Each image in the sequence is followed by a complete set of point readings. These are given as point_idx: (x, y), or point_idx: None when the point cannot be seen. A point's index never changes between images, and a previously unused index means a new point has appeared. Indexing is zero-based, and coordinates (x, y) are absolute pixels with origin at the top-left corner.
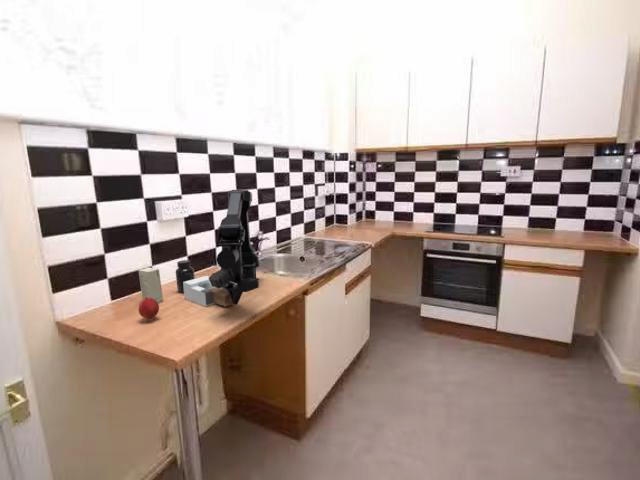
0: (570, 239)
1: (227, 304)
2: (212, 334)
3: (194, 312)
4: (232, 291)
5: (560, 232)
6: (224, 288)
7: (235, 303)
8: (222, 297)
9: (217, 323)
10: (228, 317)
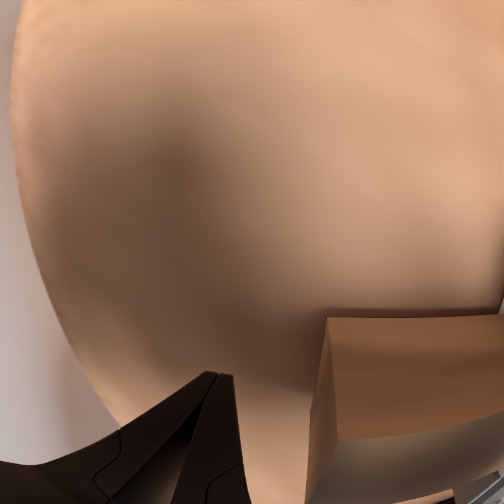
0: None
1: (325, 354)
2: (42, 4)
3: (493, 66)
4: (77, 498)
5: None
6: (484, 477)
7: (193, 383)
8: (403, 396)
9: (97, 50)
10: (111, 175)
